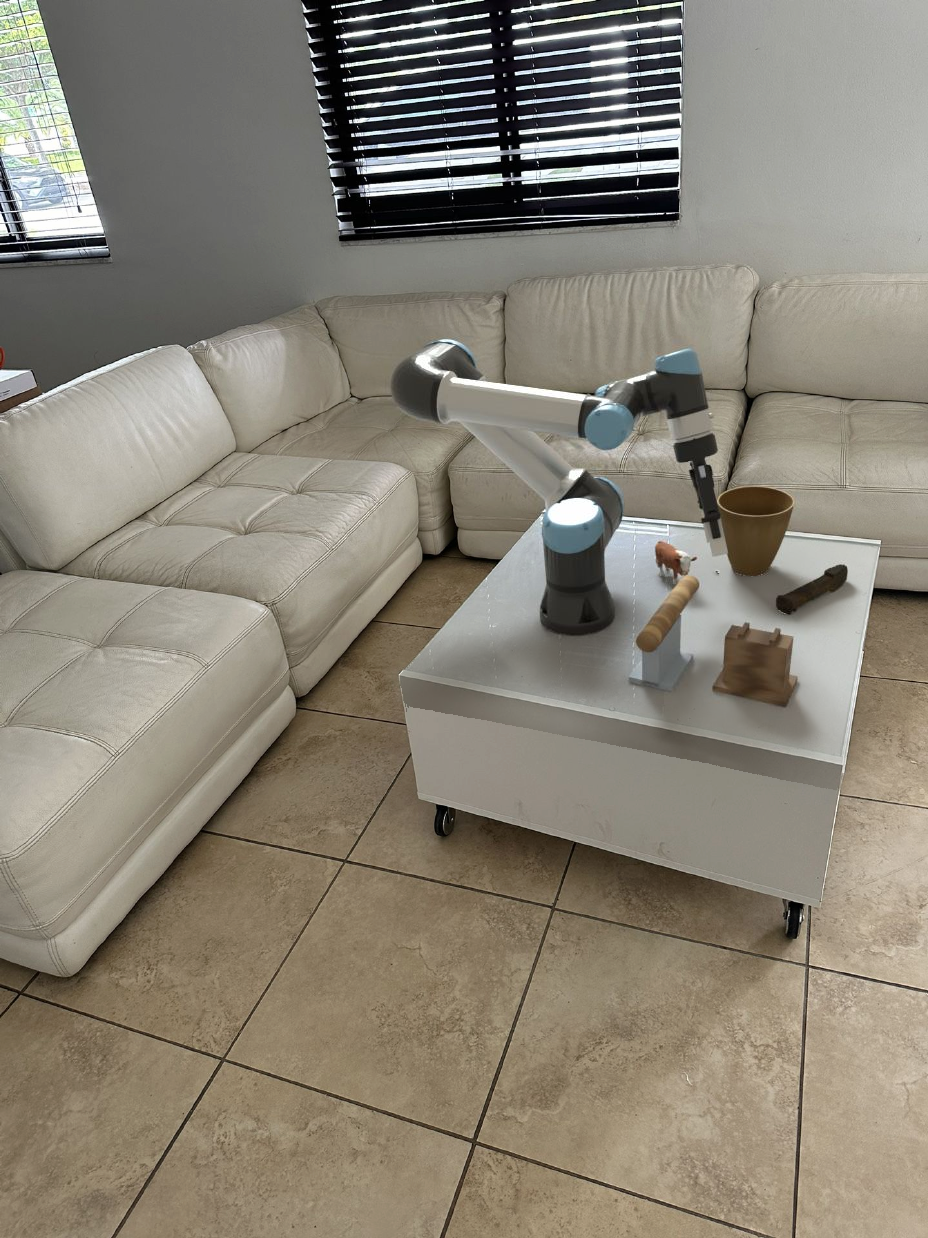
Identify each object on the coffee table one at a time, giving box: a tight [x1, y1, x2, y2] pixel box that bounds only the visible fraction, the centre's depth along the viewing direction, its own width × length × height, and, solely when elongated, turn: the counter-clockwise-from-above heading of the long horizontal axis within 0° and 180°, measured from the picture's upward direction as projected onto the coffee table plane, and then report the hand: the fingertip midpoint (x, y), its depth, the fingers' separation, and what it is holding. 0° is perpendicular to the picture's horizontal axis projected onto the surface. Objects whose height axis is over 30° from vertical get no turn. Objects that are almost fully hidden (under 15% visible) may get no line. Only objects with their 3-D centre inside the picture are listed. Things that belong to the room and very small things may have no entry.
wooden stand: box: [712, 621, 798, 708], centre depth 136 cm, size 12×8×11 cm, turn 58°
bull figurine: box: [654, 540, 698, 586], centre depth 171 cm, size 4×13×8 cm, turn 16°
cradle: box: [628, 614, 695, 693], centre depth 143 cm, size 8×11×9 cm
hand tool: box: [775, 563, 849, 615], centre depth 159 cm, size 19×4×5 cm, turn 119°
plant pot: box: [716, 485, 795, 577], centre depth 169 cm, size 15×15×16 cm
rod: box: [635, 574, 700, 653], centre depth 143 cm, size 22×4×4 cm, turn 148°
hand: (717, 547), depth 153 cm, fingers open, 13 cm apart
